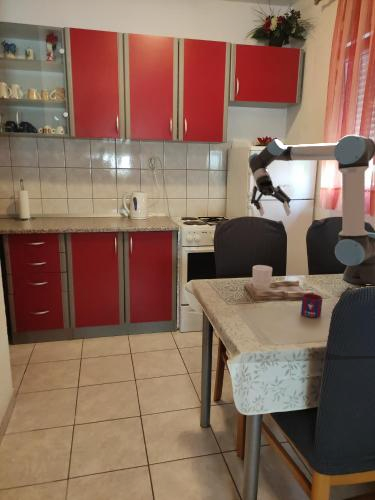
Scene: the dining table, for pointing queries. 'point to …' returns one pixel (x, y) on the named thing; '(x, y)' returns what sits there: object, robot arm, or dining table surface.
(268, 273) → the white cup
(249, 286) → the wooden tray
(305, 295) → the mug
